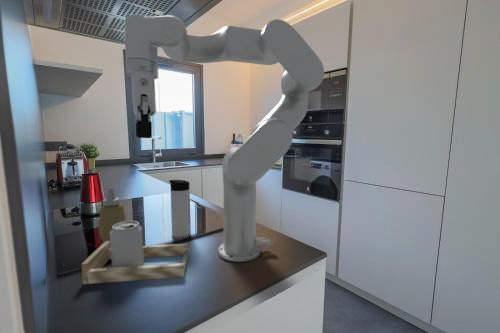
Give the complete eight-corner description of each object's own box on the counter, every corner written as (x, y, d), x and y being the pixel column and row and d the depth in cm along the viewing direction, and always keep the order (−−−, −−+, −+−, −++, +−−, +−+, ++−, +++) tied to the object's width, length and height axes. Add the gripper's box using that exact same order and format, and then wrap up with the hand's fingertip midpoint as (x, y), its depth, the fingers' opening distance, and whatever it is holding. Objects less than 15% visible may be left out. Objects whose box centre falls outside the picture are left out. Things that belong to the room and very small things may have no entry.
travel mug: (168, 235, 84) (166, 179, 82) (185, 230, 89) (184, 177, 86) (176, 241, 80) (174, 182, 77) (194, 236, 84) (192, 179, 82)
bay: (189, 252, 72) (188, 236, 72) (183, 276, 60) (183, 257, 60) (106, 257, 69) (105, 241, 68) (83, 284, 57) (81, 264, 56)
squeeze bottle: (107, 236, 83) (104, 185, 81) (132, 236, 84) (129, 185, 81) (94, 247, 75) (89, 191, 73) (121, 247, 76) (117, 190, 73)
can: (131, 277, 60) (128, 230, 58) (105, 273, 61) (101, 228, 60) (149, 262, 67) (147, 220, 66) (125, 259, 69) (123, 218, 67)
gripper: (162, 64, 56) (162, 138, 58) (154, 78, 72) (155, 137, 74) (125, 58, 53) (127, 137, 55) (125, 75, 68) (127, 136, 70)
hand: (143, 137), depth 64 cm, fingers open, 9 cm apart
